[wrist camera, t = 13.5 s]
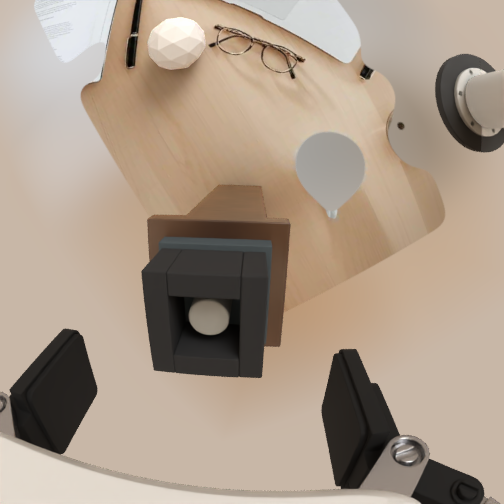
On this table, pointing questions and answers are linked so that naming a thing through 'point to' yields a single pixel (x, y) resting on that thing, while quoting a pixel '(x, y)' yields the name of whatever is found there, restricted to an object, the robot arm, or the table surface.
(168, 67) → the geometric ball
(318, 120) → the table surface
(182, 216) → the stand
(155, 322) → the dark grey square frame
